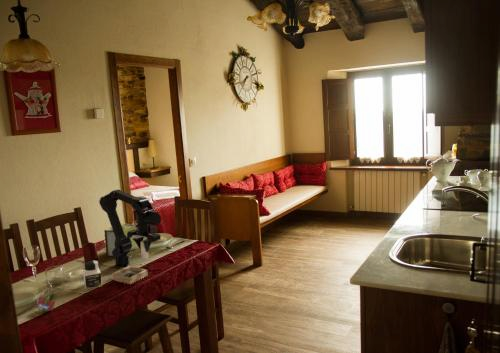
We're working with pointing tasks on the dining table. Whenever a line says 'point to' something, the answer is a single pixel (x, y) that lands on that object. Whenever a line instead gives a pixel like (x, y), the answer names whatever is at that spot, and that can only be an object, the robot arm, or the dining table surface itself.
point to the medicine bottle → (92, 275)
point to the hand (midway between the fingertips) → (144, 251)
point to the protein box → (111, 237)
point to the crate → (131, 270)
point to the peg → (143, 251)
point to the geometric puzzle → (45, 303)
